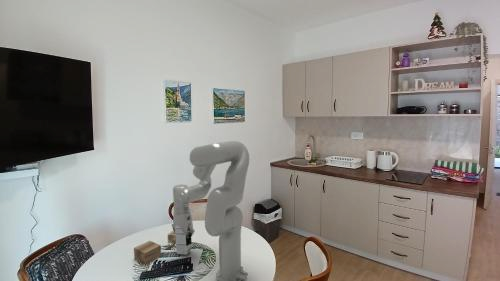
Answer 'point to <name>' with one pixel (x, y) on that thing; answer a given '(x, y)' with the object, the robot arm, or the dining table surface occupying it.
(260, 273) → the dining table surface
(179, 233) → the syrup box
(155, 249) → the brown cardboard box
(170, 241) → the oak cube
